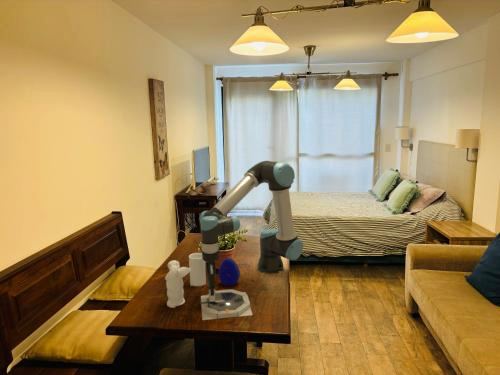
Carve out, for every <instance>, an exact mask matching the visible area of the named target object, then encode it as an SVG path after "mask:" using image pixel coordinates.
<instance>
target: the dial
mask: <svg viewBox="0 0 500 375" xmlns="http://www.w3.org/2000/svg"><path fill="white" fill-rule="evenodd" d="M207 286H208V287H209V282H208V281H207ZM208 287H207V288H208ZM241 305H243V301H242V298H241V297H240V296H239V295H237V294H233V293H220V294H216V295H215V301H213V302H209V300H208V307H209V308H212V309H214V310H217V311H226V309H228V310H235V309H237V308H238V307H240V306H241Z"/></svg>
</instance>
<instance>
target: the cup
mask: <svg viewBox="0 0 500 375" xmlns="http://www.w3.org/2000/svg"><path fill="white" fill-rule="evenodd" d="M188 262H189V263H188V264H189V267H188V268H191V271H190V272H189V282H190V285H189V286H190V287H202V286H204V285H207V276H206V275H207V274H206V273H207V272H206V271H207V270H206V261H204V260H203V259H202V252H193V253H191V254H189V255H188Z"/></svg>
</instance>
